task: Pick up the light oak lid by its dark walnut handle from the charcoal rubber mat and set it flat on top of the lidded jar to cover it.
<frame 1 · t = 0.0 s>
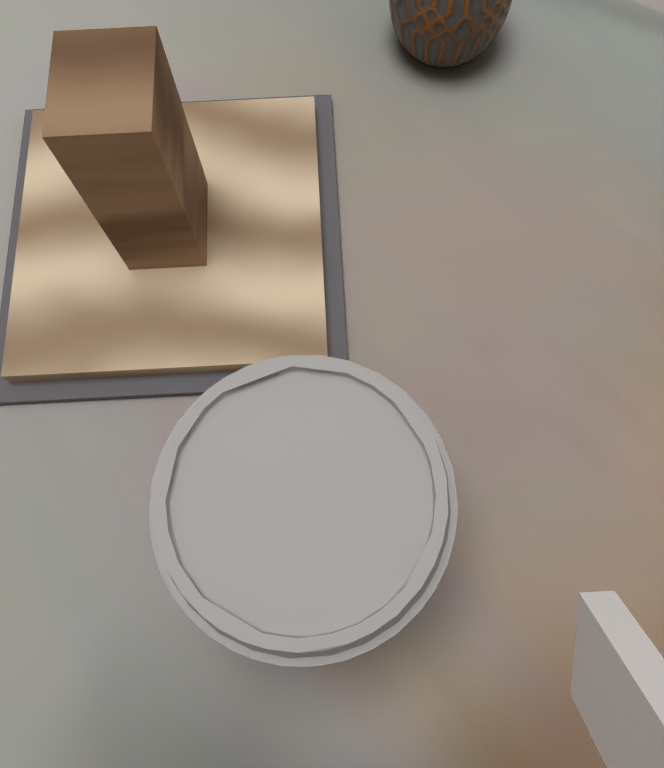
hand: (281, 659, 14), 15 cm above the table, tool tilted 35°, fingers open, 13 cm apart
disposable coffee cup: (315, 530, 30), on the table
vase: (440, 44, 39), on the table
oak lid: (174, 235, 34), resting on rubber mat
rubber mat: (176, 239, 35), on the table
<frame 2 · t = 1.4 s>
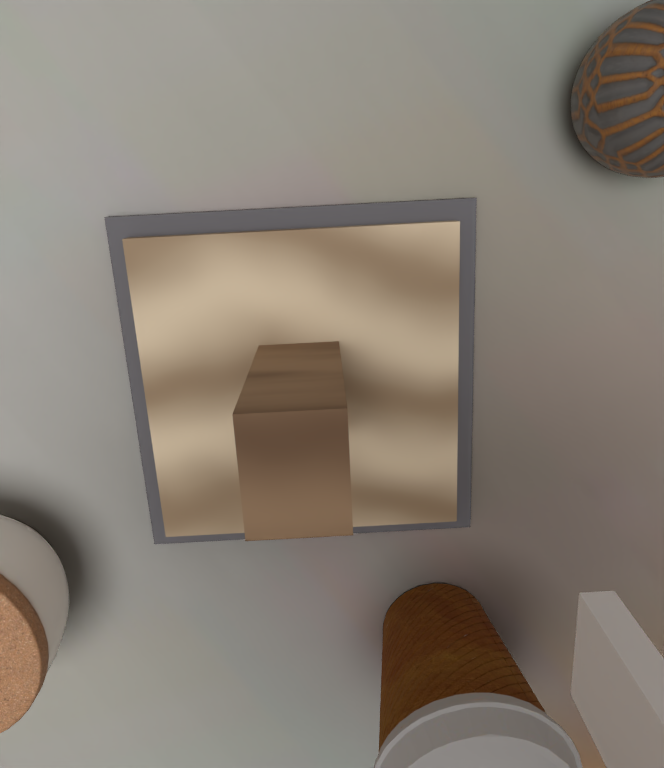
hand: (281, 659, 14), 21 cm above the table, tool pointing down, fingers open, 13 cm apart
disposable coffee cup: (433, 624, 38), on the table
lidded jar: (5, 561, 37), on the table
vase: (621, 102, 30), on the table
oak lid: (302, 384, 33), resting on rubber mat
rubber mat: (302, 382, 33), on the table
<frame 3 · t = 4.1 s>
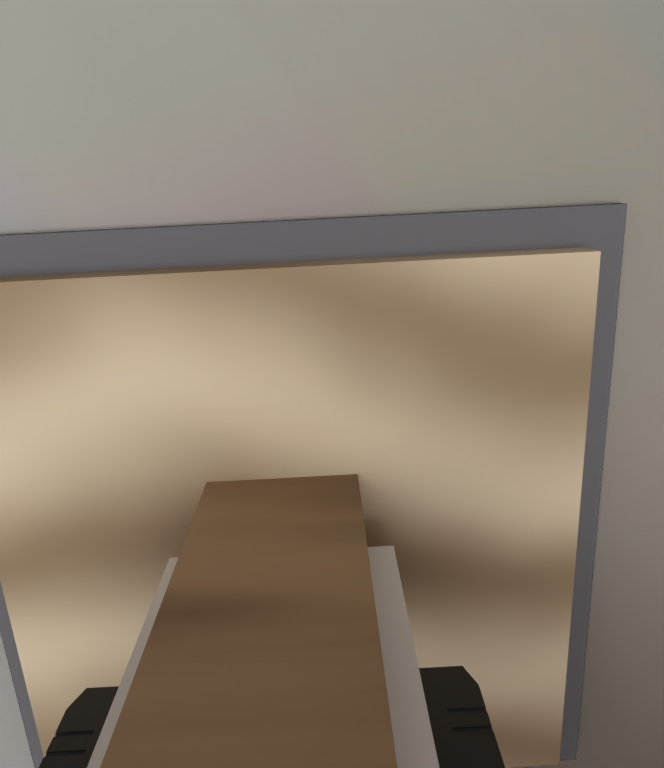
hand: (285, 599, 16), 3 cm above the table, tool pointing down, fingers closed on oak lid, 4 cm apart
oak lid: (290, 540, 18), resting on rubber mat, touching gripper
rubber mat: (290, 532, 19), on the table
when the fingers open (13 cm above the table, at t = 9.1 s): oak lid stays where it is, resting on lidded jar.
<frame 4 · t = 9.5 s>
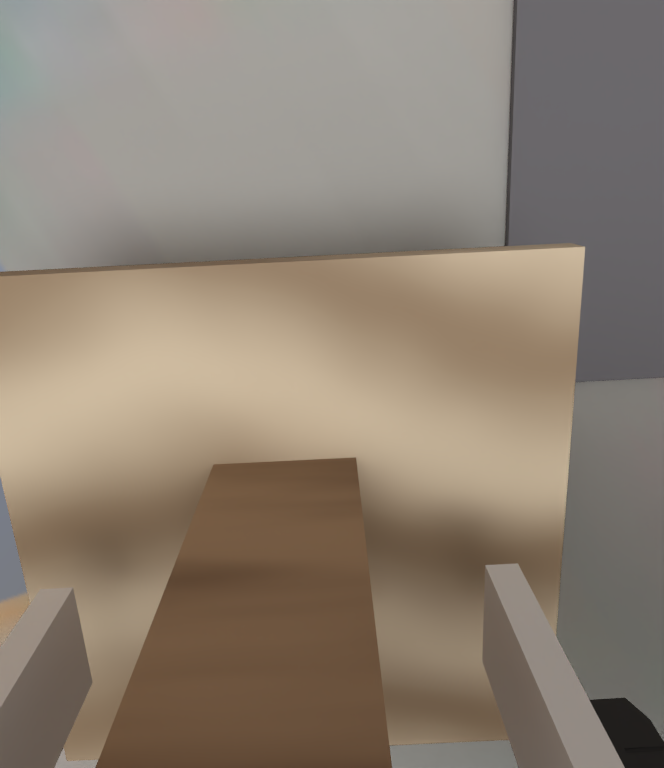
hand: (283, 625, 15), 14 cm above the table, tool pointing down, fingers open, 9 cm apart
oak lid: (292, 521, 19), point 9 cm above the table, touching lidded jar
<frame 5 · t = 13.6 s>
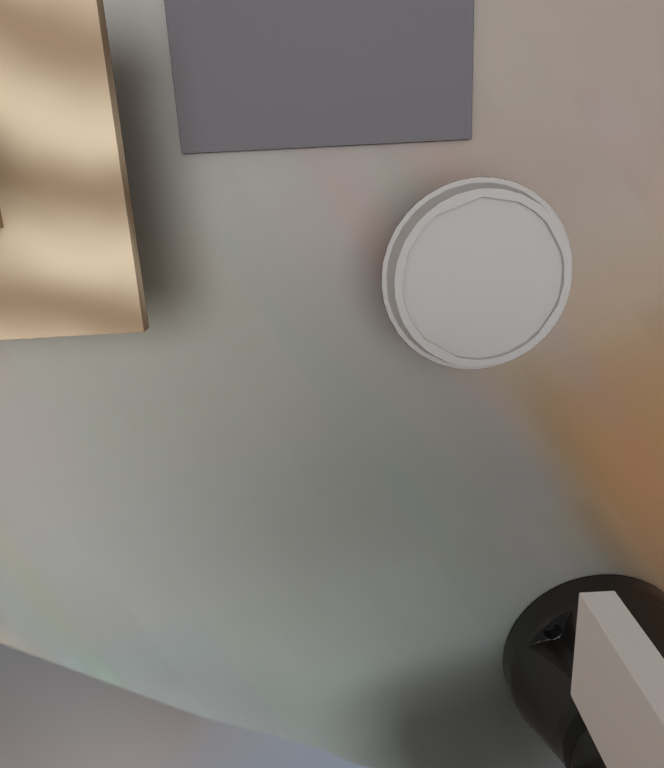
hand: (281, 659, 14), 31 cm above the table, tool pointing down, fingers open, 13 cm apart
disposable coffee cup: (437, 253, 42), on the table
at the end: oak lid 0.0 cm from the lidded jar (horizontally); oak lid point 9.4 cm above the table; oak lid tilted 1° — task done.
